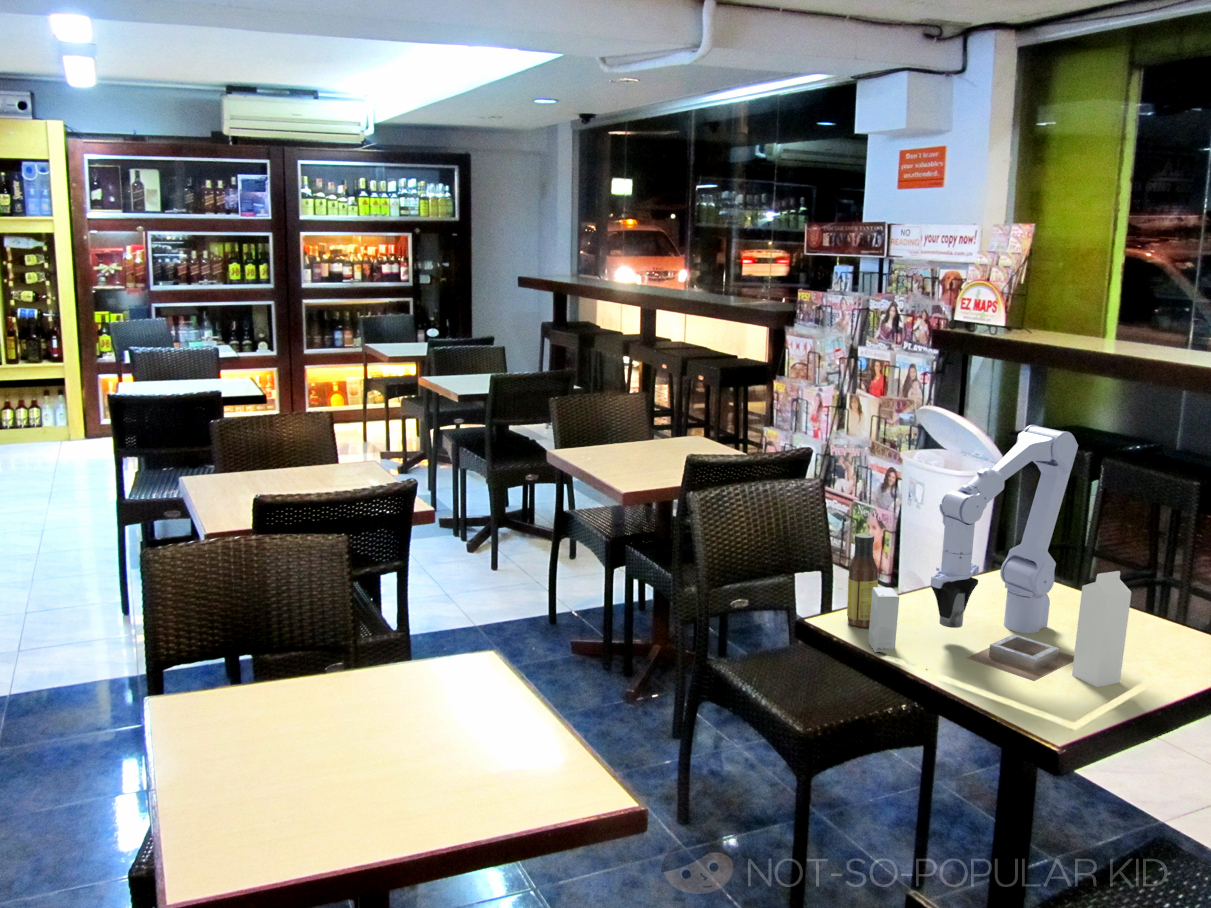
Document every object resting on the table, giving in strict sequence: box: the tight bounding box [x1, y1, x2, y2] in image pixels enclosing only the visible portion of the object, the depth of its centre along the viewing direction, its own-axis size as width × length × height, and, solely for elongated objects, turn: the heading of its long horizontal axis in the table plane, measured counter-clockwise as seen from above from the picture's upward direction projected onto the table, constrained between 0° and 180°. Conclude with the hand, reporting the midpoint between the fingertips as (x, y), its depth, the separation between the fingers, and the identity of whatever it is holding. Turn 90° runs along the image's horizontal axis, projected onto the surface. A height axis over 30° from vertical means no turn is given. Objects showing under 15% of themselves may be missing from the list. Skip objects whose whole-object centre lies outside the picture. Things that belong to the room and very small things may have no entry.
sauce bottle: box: [846, 532, 879, 629], centre depth 227 cm, size 7×6×20 cm
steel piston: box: [939, 589, 965, 629], centre depth 216 cm, size 4×4×7 cm
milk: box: [1071, 570, 1132, 688], centre depth 198 cm, size 6×6×22 cm
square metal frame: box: [989, 633, 1060, 671], centre depth 209 cm, size 9×9×2 cm
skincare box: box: [867, 586, 900, 653], centre depth 214 cm, size 6×4×12 cm
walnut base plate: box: [966, 647, 1074, 682], centre depth 209 cm, size 18×14×1 cm
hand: (951, 614), depth 216 cm, fingers closed on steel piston, 4 cm apart
